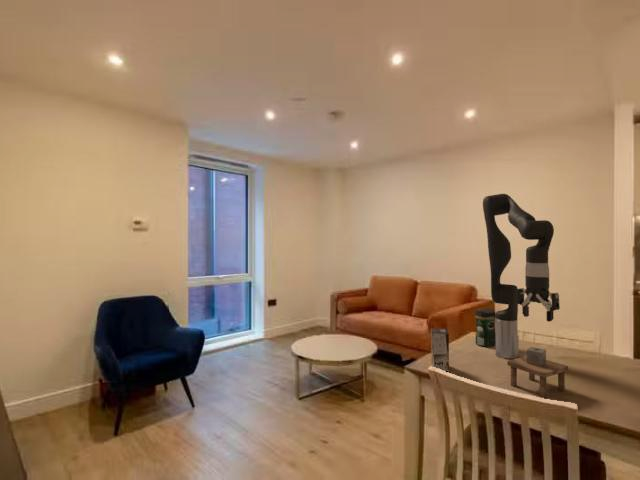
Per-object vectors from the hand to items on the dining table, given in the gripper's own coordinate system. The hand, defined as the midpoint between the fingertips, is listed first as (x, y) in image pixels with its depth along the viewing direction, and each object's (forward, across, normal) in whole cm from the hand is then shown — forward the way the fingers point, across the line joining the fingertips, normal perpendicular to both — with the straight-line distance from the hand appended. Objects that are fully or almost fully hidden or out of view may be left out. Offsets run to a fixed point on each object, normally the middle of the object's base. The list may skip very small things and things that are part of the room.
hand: (537, 318), depth 134 cm
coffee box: (+26, -32, -16) cm, 44 cm away
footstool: (+26, 0, 0) cm, 26 cm away
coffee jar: (+26, -44, +28) cm, 58 cm away
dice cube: (+17, 0, 0) cm, 17 cm away
